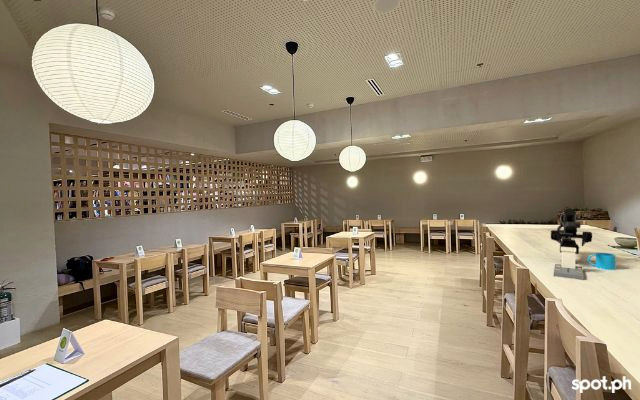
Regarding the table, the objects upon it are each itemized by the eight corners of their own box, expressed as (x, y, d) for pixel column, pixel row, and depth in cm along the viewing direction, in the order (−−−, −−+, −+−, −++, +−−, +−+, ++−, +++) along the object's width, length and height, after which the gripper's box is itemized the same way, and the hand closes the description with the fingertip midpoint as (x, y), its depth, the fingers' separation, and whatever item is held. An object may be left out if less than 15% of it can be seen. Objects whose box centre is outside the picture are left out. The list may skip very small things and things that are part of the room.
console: (555, 267, 176) (555, 263, 176) (582, 270, 168) (582, 266, 168) (553, 275, 159) (553, 272, 159) (583, 279, 151) (583, 275, 151)
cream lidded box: (560, 265, 171) (560, 246, 170) (575, 267, 167) (575, 247, 166) (560, 267, 168) (560, 247, 167) (576, 269, 164) (576, 249, 163)
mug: (615, 267, 171) (615, 253, 171) (615, 270, 165) (615, 256, 165) (587, 264, 180) (587, 251, 179) (586, 267, 174) (586, 253, 174)
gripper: (550, 217, 182) (551, 233, 171) (591, 218, 171) (595, 235, 160) (550, 231, 187) (551, 247, 176) (589, 233, 176) (593, 250, 165)
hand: (571, 245), depth 170 cm, fingers open, 9 cm apart
